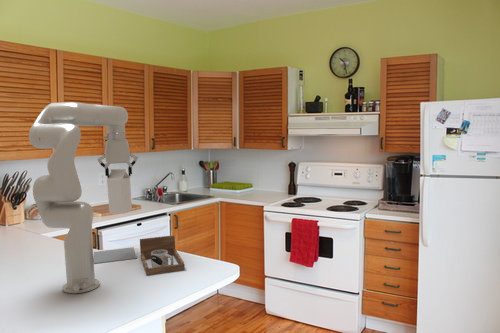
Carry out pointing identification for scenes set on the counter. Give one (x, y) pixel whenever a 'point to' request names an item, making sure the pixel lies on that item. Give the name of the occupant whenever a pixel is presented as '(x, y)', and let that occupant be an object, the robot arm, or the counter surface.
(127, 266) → the counter surface
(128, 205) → the milk carton
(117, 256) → the slate mat
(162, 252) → the mug
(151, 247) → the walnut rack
